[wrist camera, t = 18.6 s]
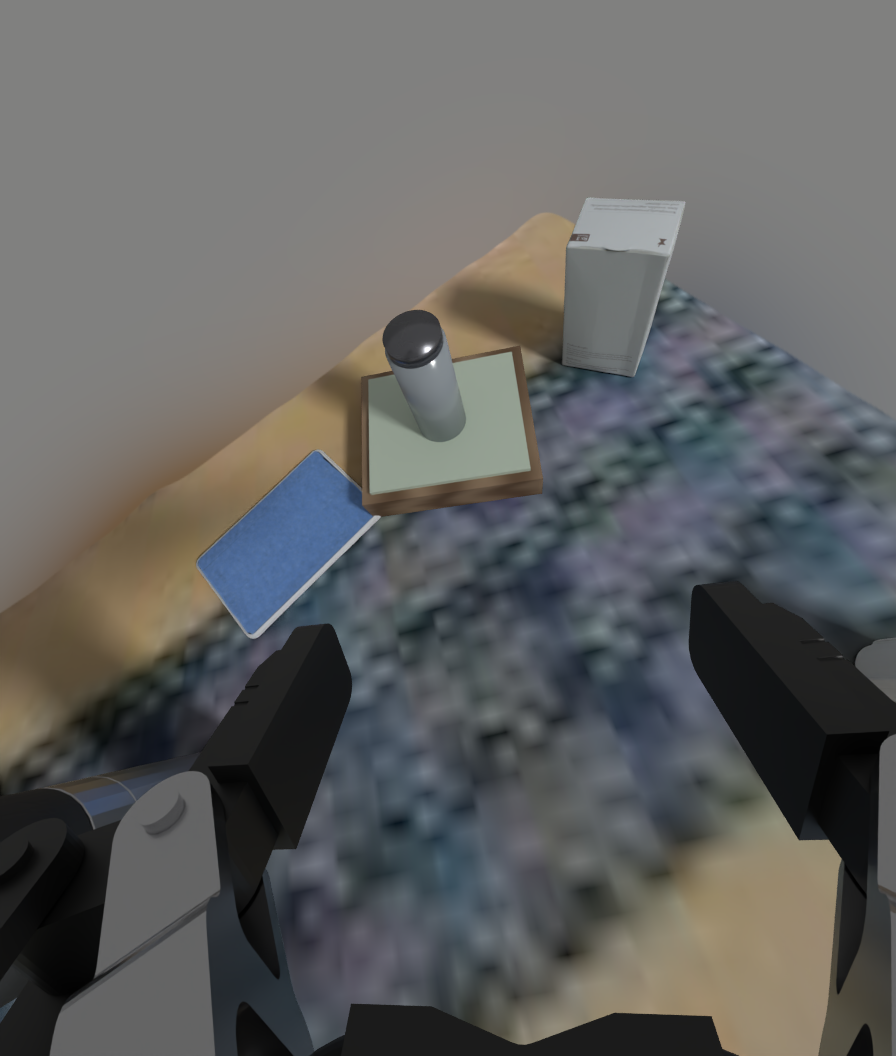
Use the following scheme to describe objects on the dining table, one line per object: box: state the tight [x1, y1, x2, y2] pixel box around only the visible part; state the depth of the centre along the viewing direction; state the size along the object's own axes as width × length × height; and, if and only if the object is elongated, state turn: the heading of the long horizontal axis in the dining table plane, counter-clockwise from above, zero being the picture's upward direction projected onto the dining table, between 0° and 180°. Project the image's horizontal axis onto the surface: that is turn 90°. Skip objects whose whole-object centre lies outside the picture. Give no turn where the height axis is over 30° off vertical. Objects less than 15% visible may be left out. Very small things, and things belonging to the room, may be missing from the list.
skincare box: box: [562, 198, 685, 377], centre depth 41 cm, size 8×6×15 cm
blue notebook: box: [196, 450, 381, 639], centre depth 47 cm, size 19×13×1 cm, turn 135°
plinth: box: [362, 346, 543, 517], centre depth 45 cm, size 18×16×4 cm
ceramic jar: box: [383, 310, 466, 442], centre depth 38 cm, size 5×5×12 cm
